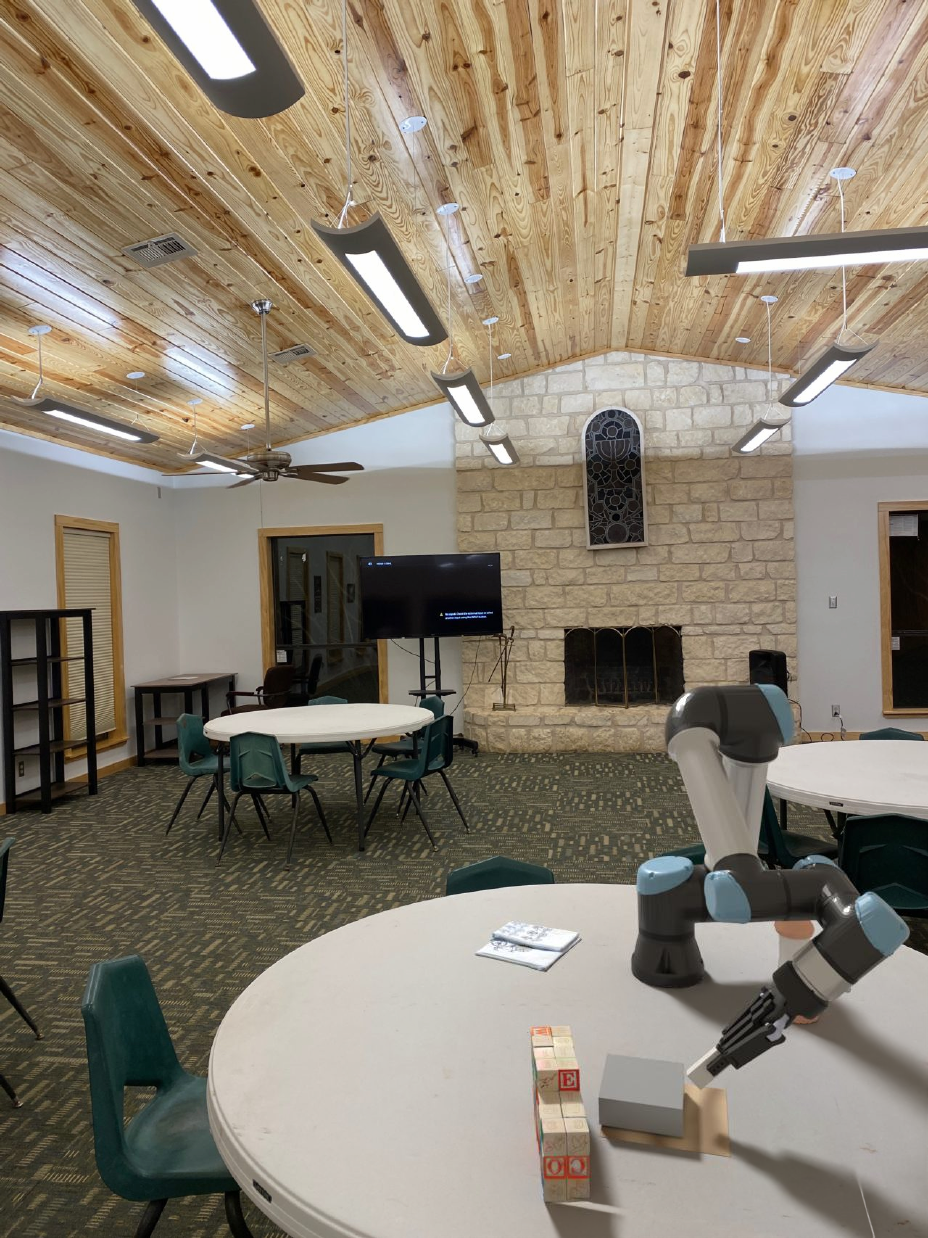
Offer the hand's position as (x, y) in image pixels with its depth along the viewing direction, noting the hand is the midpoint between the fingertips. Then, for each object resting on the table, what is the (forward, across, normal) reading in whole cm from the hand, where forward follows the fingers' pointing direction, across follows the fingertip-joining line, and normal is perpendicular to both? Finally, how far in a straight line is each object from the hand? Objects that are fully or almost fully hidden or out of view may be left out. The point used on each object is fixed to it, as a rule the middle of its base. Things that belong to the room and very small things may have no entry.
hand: (693, 1080), depth 118 cm
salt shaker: (-9, +37, -17) cm, 42 cm away
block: (+3, 0, -1) cm, 3 cm away
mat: (+7, 0, -1) cm, 7 cm away
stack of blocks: (+18, -11, +9) cm, 23 cm away
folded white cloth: (+31, +56, +22) cm, 68 cm away
